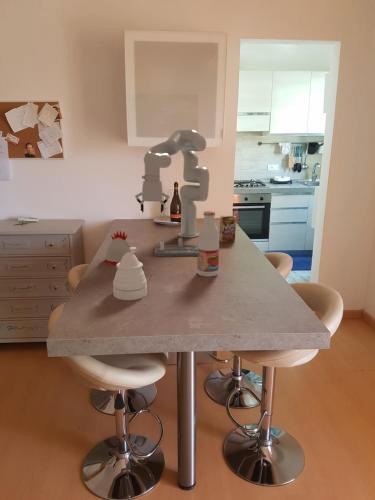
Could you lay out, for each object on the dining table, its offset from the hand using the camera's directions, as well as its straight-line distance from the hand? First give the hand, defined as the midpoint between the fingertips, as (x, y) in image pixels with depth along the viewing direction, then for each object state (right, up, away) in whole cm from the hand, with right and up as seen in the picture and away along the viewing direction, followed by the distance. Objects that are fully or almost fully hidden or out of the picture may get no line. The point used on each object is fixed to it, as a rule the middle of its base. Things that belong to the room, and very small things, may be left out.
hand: (152, 212), depth 199 cm
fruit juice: (+27, -30, -25) cm, 48 cm away
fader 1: (+5, -19, +5) cm, 21 cm away
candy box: (+42, -14, +32) cm, 55 cm away
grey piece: (-15, -25, -8) cm, 30 cm away
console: (+13, -20, +8) cm, 25 cm away
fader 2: (+14, -17, +13) cm, 26 cm away
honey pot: (-4, -37, -49) cm, 61 cm away
